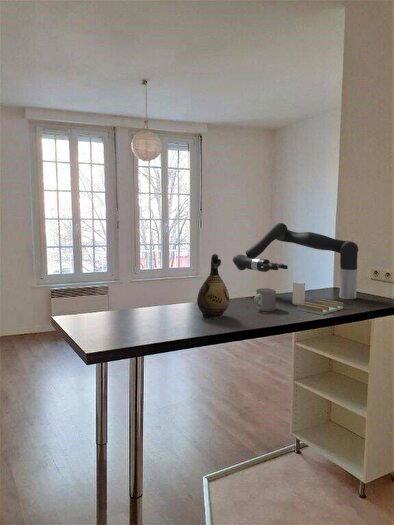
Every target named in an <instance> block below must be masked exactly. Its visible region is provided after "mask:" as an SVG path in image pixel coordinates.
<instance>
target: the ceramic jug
mask: <svg viewBox="0 0 394 525" xmlns="http://www.w3.org/2000/svg"><path fill="white" fill-rule="evenodd" d="M210 260H211V261H210V274H209V275H208V276H207V277H206V278H205V280H204V281H203V283H202V284H201V286H200V289H199V291H198V294H197V300H196V304H197V307H198V309H199V311H200V312H201V313H202V318H204V319H208V318H211V319H210V320H215V319H216V318H217V319H221V318H222V316H223V315H224V313H225V312H226V311H227V310H228V308H229V305H230V296H229V293H230V292H229V290H228V289H227V286H226V284H225V283H224V281H223V279H222V277H221V276H220V274H219V270H218V268H219V267H220V266H221V264H222V261H221V259H220V258H219V255H218V254H216V253H213V254H212V255H211V259H210ZM220 317H221V318H220ZM214 318H215V319H214Z"/></svg>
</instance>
